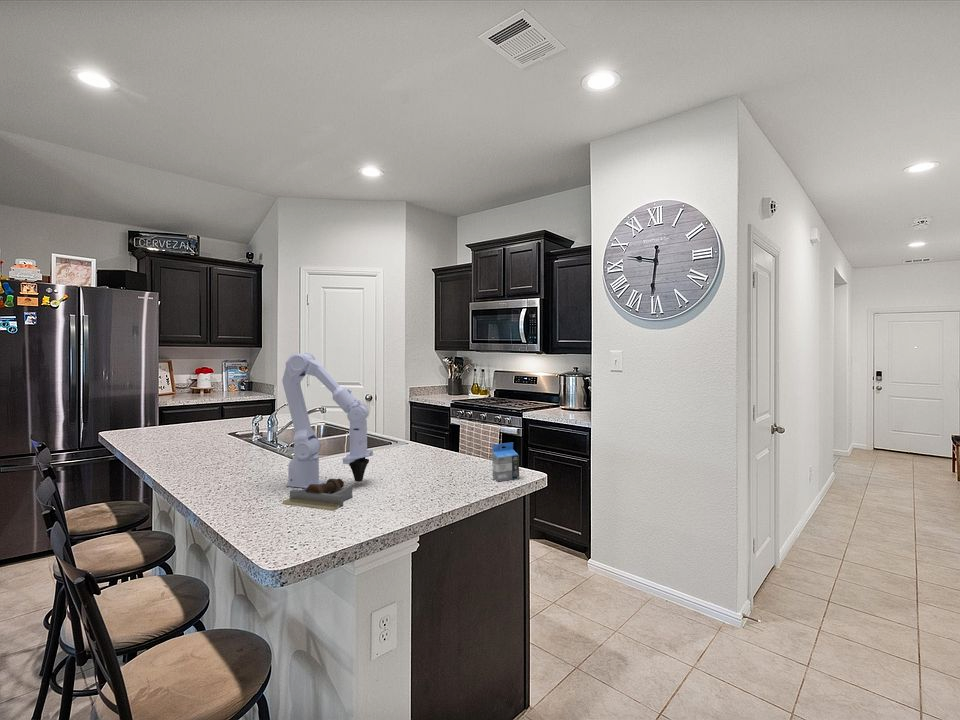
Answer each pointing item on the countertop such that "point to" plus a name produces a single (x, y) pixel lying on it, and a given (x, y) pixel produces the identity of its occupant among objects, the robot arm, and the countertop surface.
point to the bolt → (327, 486)
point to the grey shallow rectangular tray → (319, 498)
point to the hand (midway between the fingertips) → (358, 481)
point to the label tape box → (505, 462)
